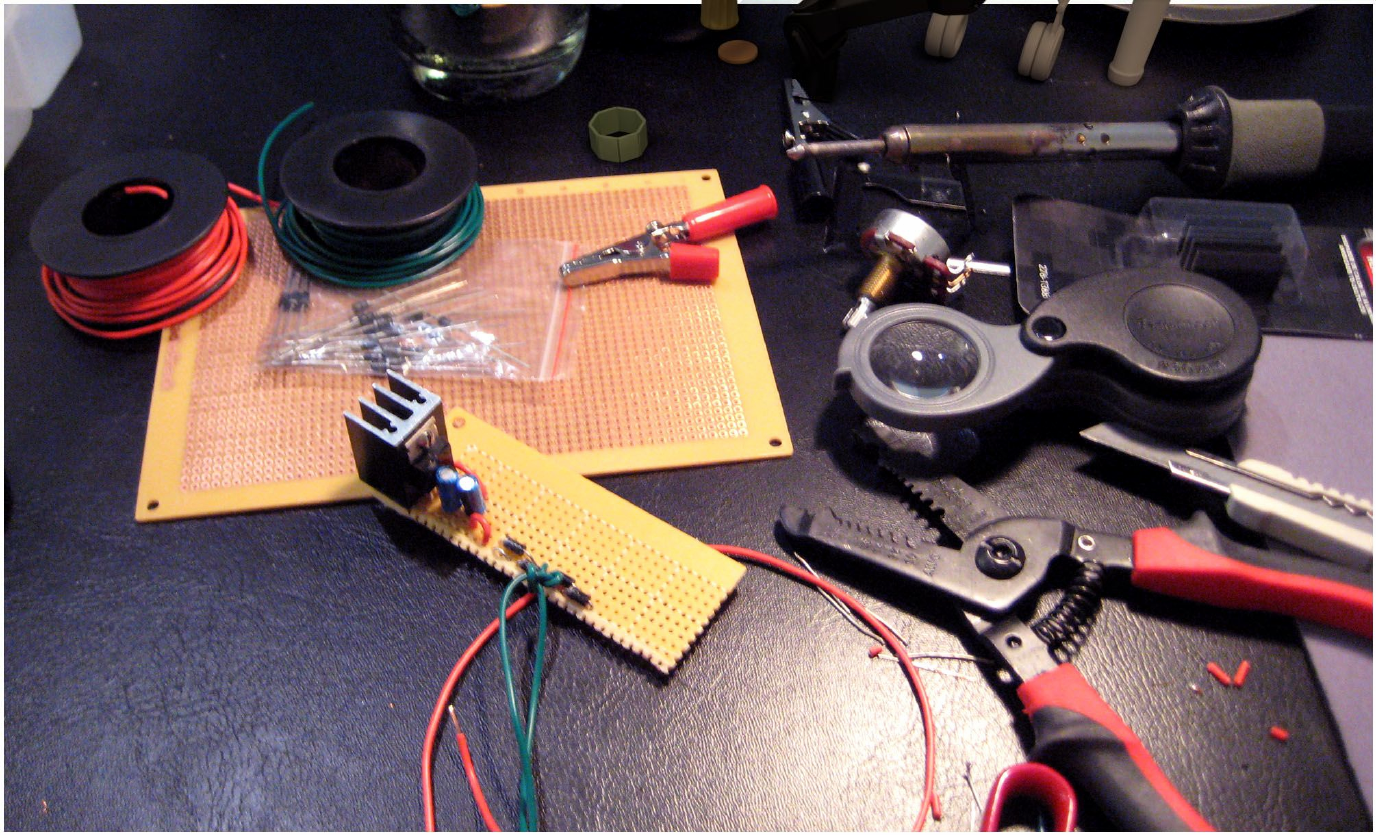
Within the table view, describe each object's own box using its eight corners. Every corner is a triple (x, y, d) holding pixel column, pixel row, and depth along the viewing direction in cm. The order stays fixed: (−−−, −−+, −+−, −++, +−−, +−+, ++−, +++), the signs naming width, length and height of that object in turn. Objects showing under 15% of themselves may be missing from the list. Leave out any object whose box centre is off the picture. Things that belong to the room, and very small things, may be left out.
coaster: (762, 46, 156) (762, 43, 155) (751, 66, 152) (751, 63, 152) (724, 41, 157) (724, 37, 157) (713, 61, 154) (713, 57, 153)
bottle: (1136, 69, 148) (1199, -96, 129) (1143, 87, 145) (1208, -80, 126) (1103, 68, 149) (1160, -96, 129) (1109, 86, 146) (1168, -80, 126)
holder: (653, 135, 141) (652, 112, 138) (634, 165, 136) (632, 142, 133) (604, 126, 142) (602, 103, 139) (584, 156, 138) (581, 133, 135)
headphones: (919, 63, 151) (941, -58, 136) (935, 39, 156) (958, -81, 141) (1042, 92, 145) (1079, -32, 130) (1055, 66, 150) (1092, -57, 135)
